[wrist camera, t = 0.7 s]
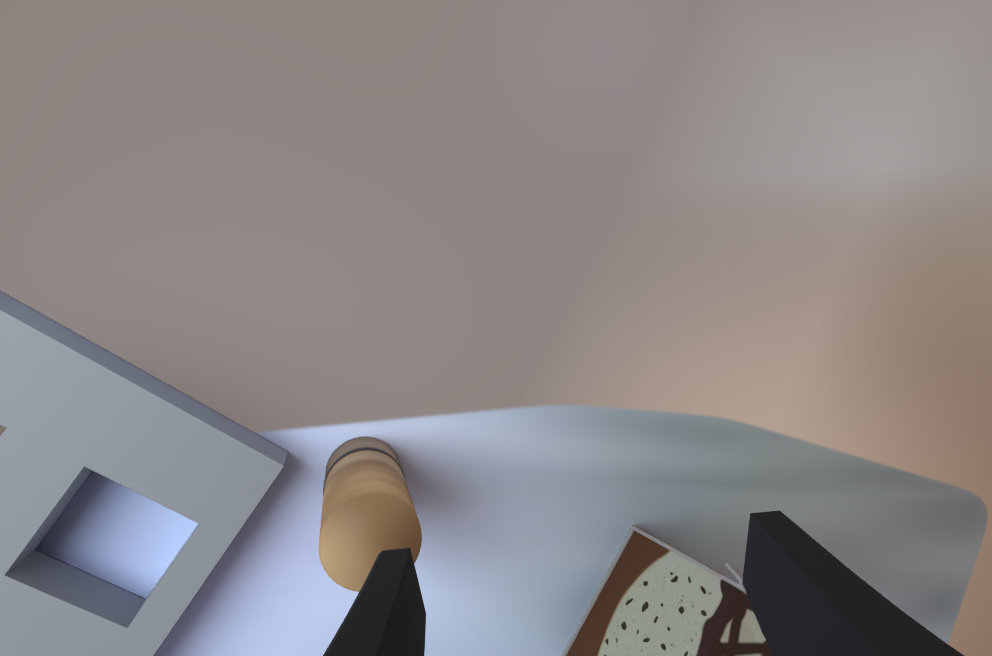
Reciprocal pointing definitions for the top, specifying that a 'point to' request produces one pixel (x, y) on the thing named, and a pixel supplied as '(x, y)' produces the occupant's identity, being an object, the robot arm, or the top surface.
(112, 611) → the board
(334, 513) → the peg
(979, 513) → the top surface
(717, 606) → the food container
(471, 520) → the top surface
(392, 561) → the robot arm
